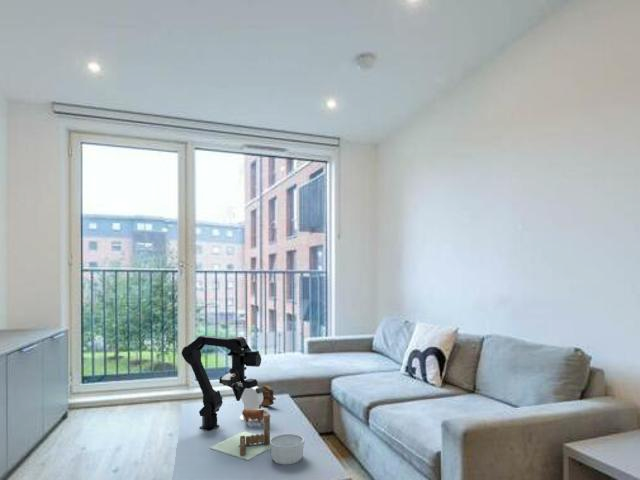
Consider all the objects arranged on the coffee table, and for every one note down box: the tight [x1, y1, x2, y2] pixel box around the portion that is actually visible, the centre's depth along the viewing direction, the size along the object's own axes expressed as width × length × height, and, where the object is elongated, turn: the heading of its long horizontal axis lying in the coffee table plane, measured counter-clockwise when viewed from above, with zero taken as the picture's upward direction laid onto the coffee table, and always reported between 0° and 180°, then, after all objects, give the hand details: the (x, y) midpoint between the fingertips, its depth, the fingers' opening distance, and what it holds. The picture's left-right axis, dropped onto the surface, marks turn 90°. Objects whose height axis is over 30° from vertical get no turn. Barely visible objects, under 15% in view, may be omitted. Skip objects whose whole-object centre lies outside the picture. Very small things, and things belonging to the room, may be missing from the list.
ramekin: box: [270, 433, 305, 466], centre depth 158 cm, size 13×13×7 cm
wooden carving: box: [259, 385, 276, 407], centre depth 222 cm, size 16×5×10 cm, turn 50°
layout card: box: [209, 431, 272, 461], centre depth 171 cm, size 21×20×1 cm
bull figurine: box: [241, 407, 270, 428], centre depth 193 cm, size 4×13×8 cm, turn 78°
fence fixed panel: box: [240, 436, 245, 456], centre depth 165 cm, size 10×2×4 cm, turn 11°
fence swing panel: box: [246, 413, 271, 445], centre depth 171 cm, size 10×3×11 cm, turn 106°
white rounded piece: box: [239, 386, 264, 423], centre depth 204 cm, size 12×11×15 cm
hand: (238, 400), depth 187 cm, fingers closed
